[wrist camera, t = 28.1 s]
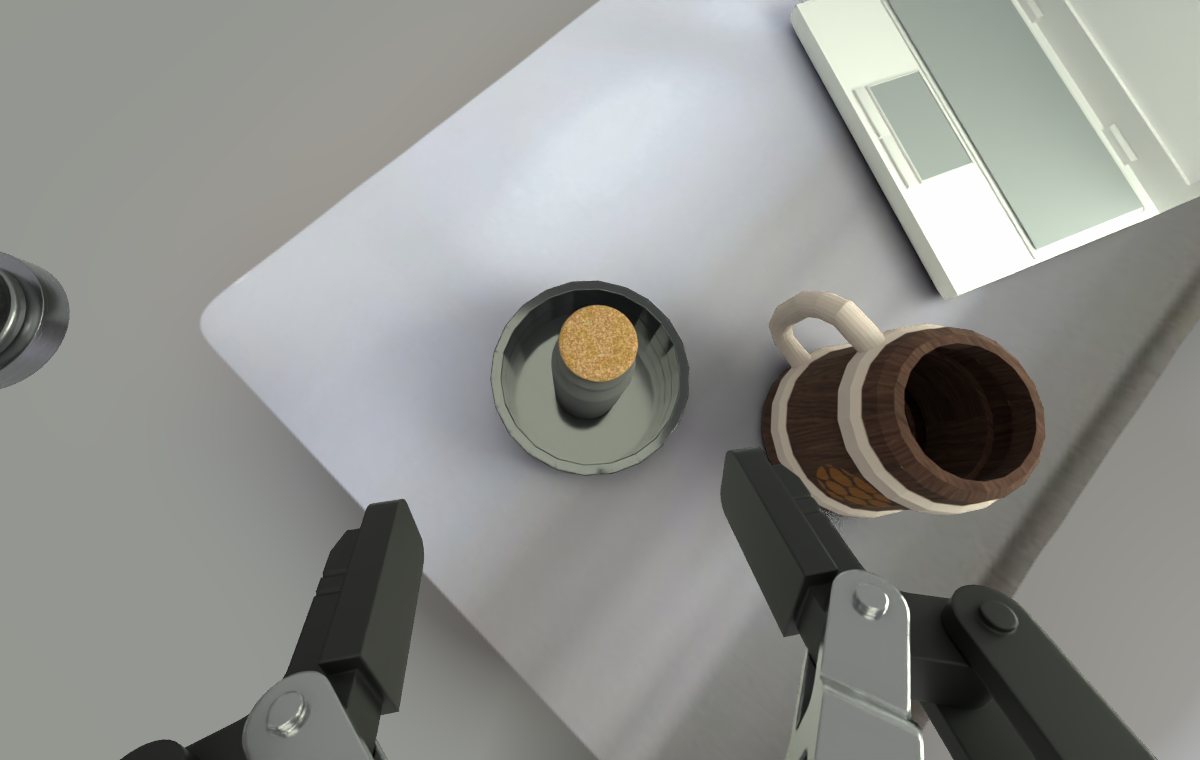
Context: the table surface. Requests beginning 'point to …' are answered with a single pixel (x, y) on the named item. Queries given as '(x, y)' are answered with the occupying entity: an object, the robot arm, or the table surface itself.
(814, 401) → the mug
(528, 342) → the pot
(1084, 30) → the laptop
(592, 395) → the bottle
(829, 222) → the table surface
